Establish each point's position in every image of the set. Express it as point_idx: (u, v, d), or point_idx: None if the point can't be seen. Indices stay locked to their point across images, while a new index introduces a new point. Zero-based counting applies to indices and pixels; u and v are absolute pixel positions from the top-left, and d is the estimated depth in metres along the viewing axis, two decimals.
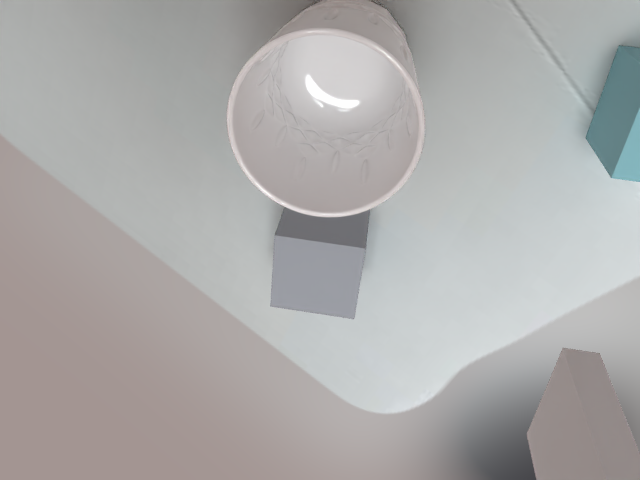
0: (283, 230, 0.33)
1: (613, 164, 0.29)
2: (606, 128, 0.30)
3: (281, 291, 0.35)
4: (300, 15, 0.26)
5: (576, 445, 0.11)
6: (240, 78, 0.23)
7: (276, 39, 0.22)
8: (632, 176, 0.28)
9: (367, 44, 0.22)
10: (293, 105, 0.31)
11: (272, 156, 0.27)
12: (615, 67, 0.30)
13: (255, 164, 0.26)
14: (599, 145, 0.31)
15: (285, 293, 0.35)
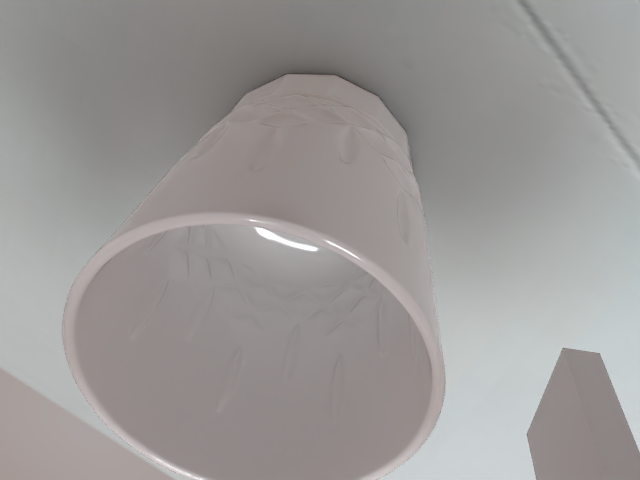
0: None
1: None
2: None
3: None
4: (222, 128, 0.15)
5: (576, 445, 0.11)
6: (77, 291, 0.11)
7: (137, 229, 0.11)
8: None
9: (325, 246, 0.10)
10: (229, 244, 0.20)
11: (177, 367, 0.16)
12: None
13: (136, 404, 0.14)
14: None
15: None
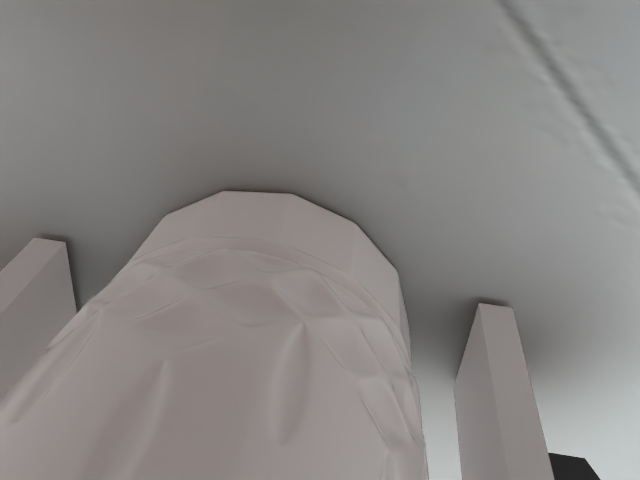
0: None
1: None
2: None
3: None
4: (90, 325, 0.09)
5: (482, 386, 0.12)
6: None
7: None
8: None
9: None
10: None
11: None
12: None
13: None
14: None
15: None
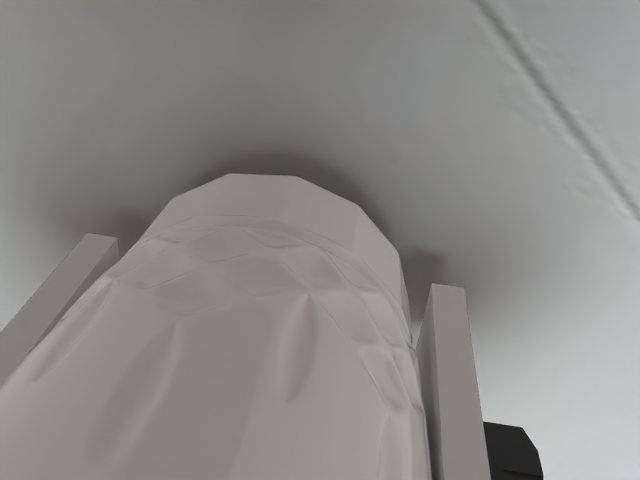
0: None
1: None
2: None
3: None
4: (103, 296, 0.09)
5: (429, 361, 0.13)
6: None
7: None
8: None
9: None
10: None
11: None
12: None
13: None
14: None
15: None
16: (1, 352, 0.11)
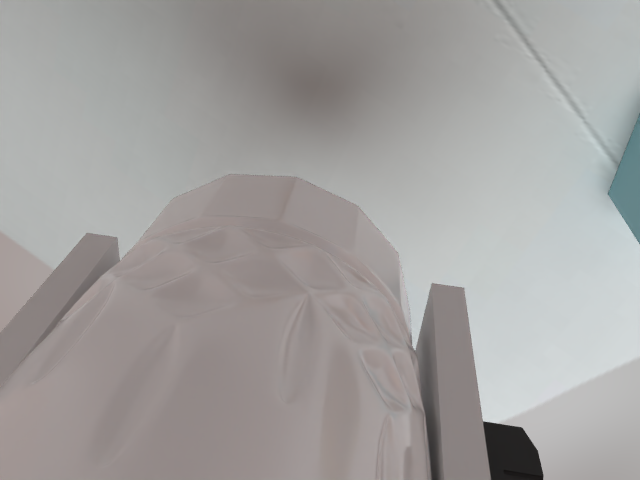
0: None
1: None
2: (636, 187, 0.25)
3: None
4: (103, 296, 0.09)
5: (429, 362, 0.13)
6: None
7: None
8: None
9: None
10: None
11: None
12: None
13: None
14: (626, 206, 0.26)
15: None
16: (1, 352, 0.11)
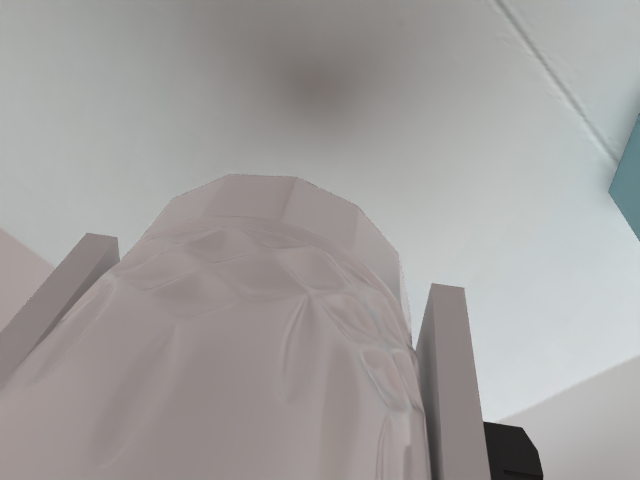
0: None
1: None
2: (636, 185, 0.26)
3: None
4: (103, 297, 0.09)
5: (429, 361, 0.13)
6: None
7: None
8: None
9: None
10: None
11: None
12: None
13: None
14: (626, 204, 0.26)
15: None
16: (1, 352, 0.11)
